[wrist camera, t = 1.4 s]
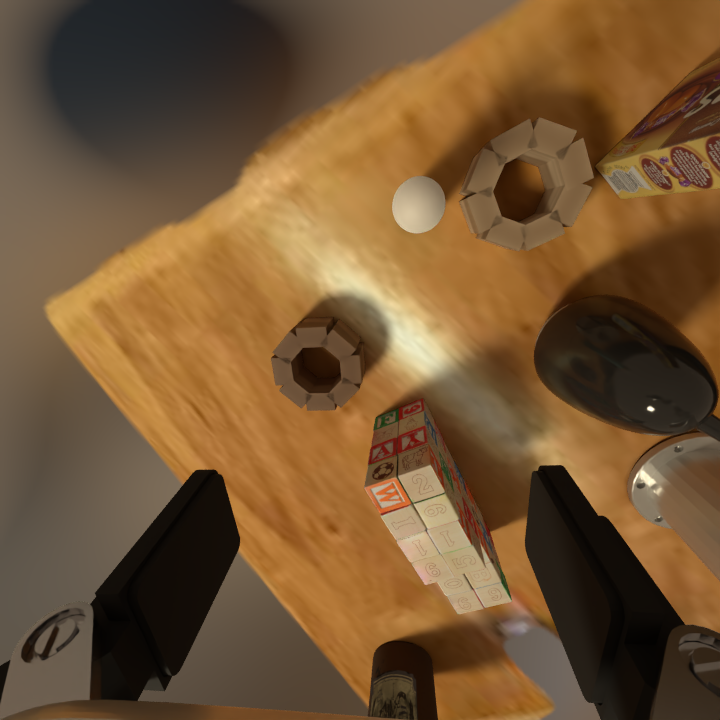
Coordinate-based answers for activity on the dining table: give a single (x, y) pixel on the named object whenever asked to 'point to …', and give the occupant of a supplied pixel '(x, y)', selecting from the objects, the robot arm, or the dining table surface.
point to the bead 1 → (305, 384)
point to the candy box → (672, 142)
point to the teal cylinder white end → (418, 204)
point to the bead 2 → (559, 174)
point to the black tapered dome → (627, 368)
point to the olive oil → (402, 683)
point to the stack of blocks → (432, 509)
